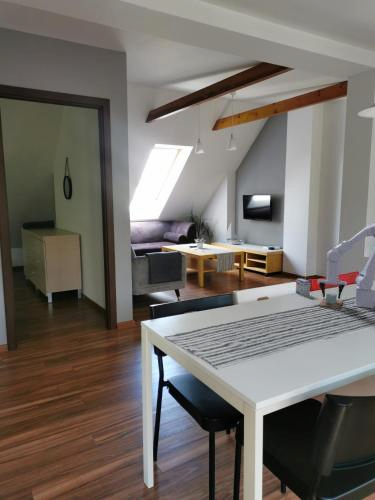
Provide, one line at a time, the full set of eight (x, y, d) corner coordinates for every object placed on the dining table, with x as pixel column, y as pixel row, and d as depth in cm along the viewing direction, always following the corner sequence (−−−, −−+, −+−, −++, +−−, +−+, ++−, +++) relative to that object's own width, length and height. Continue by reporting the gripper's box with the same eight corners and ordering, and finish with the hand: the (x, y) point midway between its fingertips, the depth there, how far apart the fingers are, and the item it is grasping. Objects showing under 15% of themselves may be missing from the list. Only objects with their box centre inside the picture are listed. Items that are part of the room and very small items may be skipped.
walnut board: (342, 302, 205) (342, 300, 205) (339, 308, 193) (339, 306, 193) (323, 300, 210) (323, 298, 210) (319, 306, 198) (319, 304, 198)
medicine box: (295, 292, 226) (296, 278, 225) (302, 292, 227) (302, 278, 226) (303, 296, 219) (303, 281, 217) (309, 295, 220) (310, 281, 219)
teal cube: (336, 302, 202) (336, 293, 201) (334, 304, 198) (335, 295, 197) (327, 300, 204) (327, 292, 204) (325, 302, 200) (326, 294, 200)
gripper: (348, 272, 199) (346, 297, 201) (319, 270, 206) (318, 294, 208) (346, 274, 193) (345, 300, 195) (317, 272, 200) (316, 297, 202)
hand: (331, 297), depth 201 cm, fingers open, 7 cm apart
